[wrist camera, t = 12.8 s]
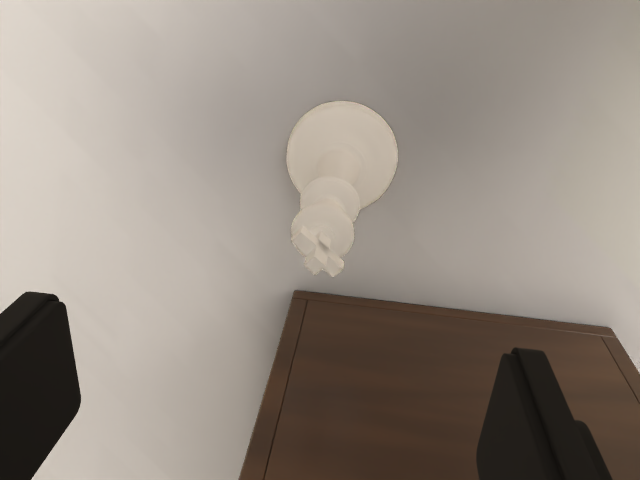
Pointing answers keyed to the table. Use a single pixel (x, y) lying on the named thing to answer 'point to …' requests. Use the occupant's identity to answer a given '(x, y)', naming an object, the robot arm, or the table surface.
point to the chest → (422, 390)
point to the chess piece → (337, 177)
